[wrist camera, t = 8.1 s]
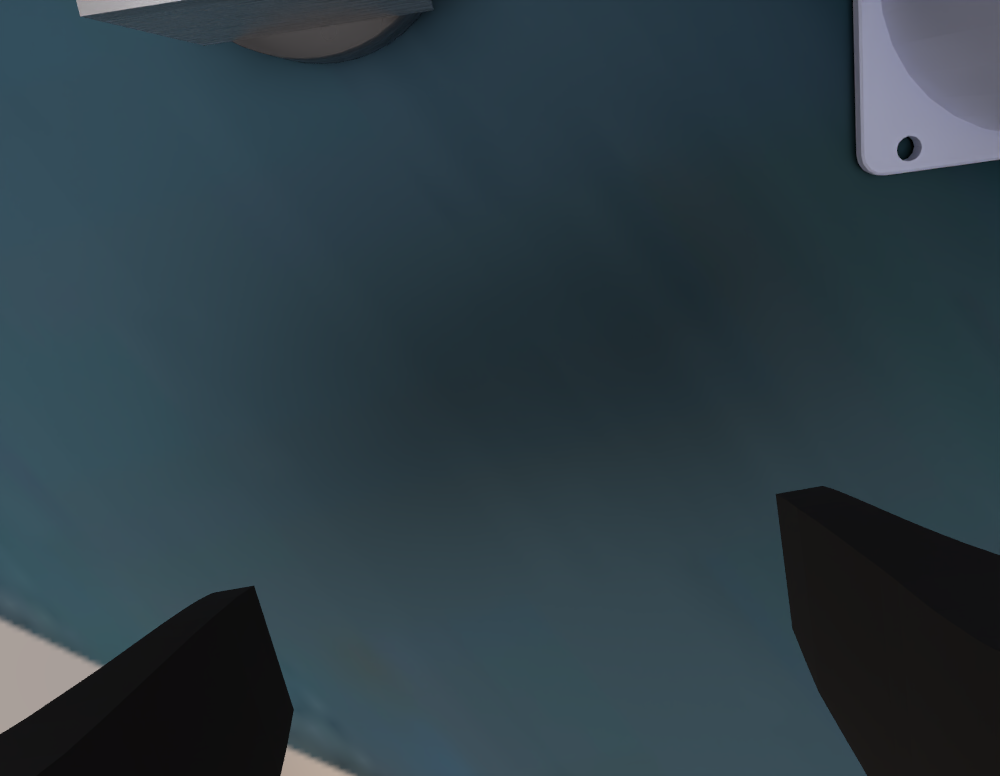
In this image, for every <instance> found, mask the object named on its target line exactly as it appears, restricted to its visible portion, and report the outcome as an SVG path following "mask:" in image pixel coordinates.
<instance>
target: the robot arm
mask: <svg viewBox="0 0 1000 776" xmlns="http://www.w3.org/2000/svg"><path fill="white" fill-rule="evenodd" d="M853 25H854V71H855V118H856V156H857V160H858V164H859V165H860V166H861V168H862V169H863V170H864V171H866V172H868V173H870V174H874V175H891V174H899V173H906V172H913V171H920V170H928V169H935V168H942V167H949V166H957V165H964V164H971V163H978V162H986V161H993V160H1000V0H853ZM907 136H908V137H909V138H910V139H912V140H913V144H914V149H913V153H912V154H911V155H910V156H909V157H908V158H907V159H905V160H902V159H901V158H899V157H898V154H897V147H898V143H899V142H900V141H901V140H902V139H903V138H905V137H907ZM776 499H777V507H778V515H779V524H780V532H781V540H782V548H783V556H784V564H785V572H786V580H787V588H788V596H789V604H790V612H791V620H792V628H793V631H794V633H795V636H796V638H797V641H798V643H799V646H800V648H801V651H802V653H803V656H804V658H805V661H806V663H807V665H808V668H809V670H810V672H811V675H812V677H813V679H814V682H815V684H816V686H817V689H818V691H819V693H820V695H821V697H822V698H823V700H824V702H825V704H826V705H827V707H828V709H829V711H830V712H831V714H832V716H833V718H834V719H835V721H836V723H837V724H838V726H839V728H840V730H841V731H842V733H843V735H844V737H845V738H846V740H847V742H848V743H849V745H850V747H851V749H852V750H853V752H854V754H855V755H856V757H857V759H858V760H859V762H860V764H861V766H862V767H863V769H864V771H865V772H866V774H867V776H1000V555H997V554H994V553H991V552H988V551H986V550H983V549H980V548H977V547H974V546H971V545H968V544H965V543H963V542H960V541H957V540H955V539H952V538H950V537H947V536H944V535H942V534H939V533H937V532H934V531H932V530H929V529H927V528H924V527H922V526H919V525H917V524H915V523H912V522H910V521H907V520H905V519H903V518H900V517H898V516H896V515H893V514H891V513H889V512H886V511H884V510H882V509H879V508H877V507H875V506H873V505H870V504H868V503H866V502H863V501H861V500H859V499H856V498H854V497H852V496H849V495H847V494H844V493H842V492H839V491H837V490H834V489H831V488H828V487H824V486H820V487H814V488H808V489H803V490H797V491H791V492H786V493H780V494H776ZM293 711H294V709H293V706H292V703H291V700H290V697H289V694H288V691H287V687H286V684H285V681H284V678H283V675H282V672H281V669H280V666H279V662H278V659H277V656H276V653H275V650H274V647H273V644H272V640H271V637H270V634H269V631H268V628H267V625H266V622H265V619H264V615H263V612H262V609H261V606H260V603H259V600H258V597H257V594H256V590H255V587H254V586H250V587H244V588H238V589H233V590H227V591H221V592H216V593H212V594H210V595H208V596H206V597H204V598H202V599H200V600H198V601H196V602H195V603H193V604H191V605H190V606H188V607H187V608H185V609H184V610H182V611H181V612H179V613H178V614H176V615H175V616H173V617H172V618H170V619H169V620H167V621H166V622H164V623H163V624H162V625H160V626H159V627H157V628H156V629H155V630H153V631H152V632H150V633H149V634H148V635H146V636H145V637H143V638H142V639H141V640H139V641H138V642H136V643H135V644H134V645H132V646H131V647H129V648H128V649H127V650H125V651H124V652H122V653H121V654H120V655H118V656H117V657H115V658H114V659H113V660H111V661H110V662H108V663H107V664H106V665H104V666H103V667H101V668H100V669H99V670H97V671H96V672H94V673H93V674H91V675H90V676H88V677H87V678H85V679H84V680H82V681H81V682H79V683H78V684H77V685H75V686H74V687H72V688H71V689H69V690H68V691H66V692H65V693H63V694H62V695H60V696H59V697H57V698H56V699H54V700H53V701H51V702H50V703H48V704H47V705H45V706H44V707H42V708H41V709H39V710H38V711H36V712H35V713H33V714H32V715H30V716H29V717H27V718H26V719H24V720H23V721H21V722H19V723H18V724H16V725H15V726H13V727H11V728H10V729H9V730H7V731H5V732H3V733H2V734H0V776H280V774H281V771H282V766H283V762H284V757H285V753H286V748H287V743H288V738H289V732H290V727H291V721H292V716H293Z"/></svg>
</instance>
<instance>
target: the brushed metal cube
mask: <svg viewBox="0 0 1000 776" xmlns="http://www.w3.org/2000/svg"><path fill="white" fill-rule="evenodd" d="M76 1H77V5H78V9H79V13H80V16H81V17H85V18H89V19H94V20H98V21H102V22H106V23H110V24H115V25H119V26H123V27H127V28H132V29H136V30H140V31H144V32H149V33H153V34H157V35H161V36H166V37H170V38H174V39H178V40H182V41H187V42H191V43H195V44H199V45H204V46H205V45H211V44H218V43H224V42H231V41H237V40H244V39H250V38H257V37H263V36H269V35H276V34H282V33H289V32H295V31H302V30H308V29H315V28H321V27H328V26H334V25H341V24H347V23H353V22H360V21H366V20H373V19H379V18H386V17H392V16H399V15H405V14H412V13H418V12H425V11H431V10H433V4H432V0H76Z"/></svg>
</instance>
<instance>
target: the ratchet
mask: <svg viewBox="0 0 1000 776" xmlns="http://www.w3.org/2000/svg"><path fill="white" fill-rule="evenodd" d="M421 14H422V12H418V13H412V14H405V15H399V16H392V17H386V18H379V19H373V20H366V21H360V22H353V23H347V24H341V25H334V26H328V27H321V28H315V29H308V30H302V31H295V32H289V33H282V34H276V35H269V36H263V37H257V38H250V39H244V40H237V41H232V42H234V43H236V44H238V45H240V46H242V47H245V48H248V49H251V50H254V51H257V52H260V53H264V54H267V55H271V56H275V57H279V58H283V59H287V60H292V61H297V62H302V63H312V64H329V63H340V62H345V61H349V60H354V59H358V58H360V57H363V56H365V55H368V54H371V53H373V52H375V51H377V50H379V49H381V48H382V47H384V46H386V45H388V44H390V43H391V42H392V41H393V40H395V39H396V38H397V37H399V36H400V35H401V34H403V33H404V32H405V31H406V30H407V29H408V28H409V27H410V26H411V25H412V24H413V23H414V22H415V21H416V20H417V19H418V18H419V16H420V15H421Z"/></svg>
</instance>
